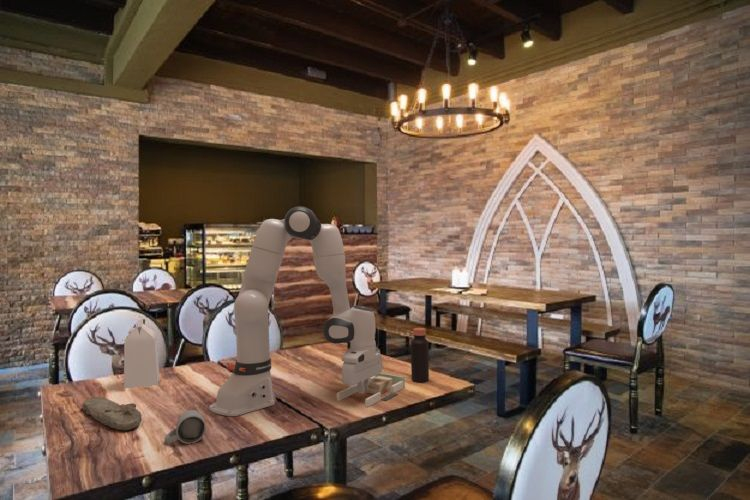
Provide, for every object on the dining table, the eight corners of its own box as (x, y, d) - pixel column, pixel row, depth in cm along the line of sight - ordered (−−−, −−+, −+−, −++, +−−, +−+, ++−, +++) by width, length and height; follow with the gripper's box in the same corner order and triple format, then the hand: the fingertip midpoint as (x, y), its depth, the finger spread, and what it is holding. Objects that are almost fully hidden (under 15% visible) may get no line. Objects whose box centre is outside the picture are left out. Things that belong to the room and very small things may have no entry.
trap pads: (385, 401, 163) (385, 400, 163) (346, 392, 172) (346, 391, 172) (403, 391, 173) (403, 390, 173) (365, 383, 182) (365, 383, 182)
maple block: (379, 395, 169) (379, 384, 169) (365, 393, 173) (365, 382, 173) (392, 389, 177) (392, 378, 177) (379, 386, 180) (379, 375, 180)
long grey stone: (106, 405, 168) (74, 415, 160) (104, 390, 168) (72, 400, 160) (151, 424, 145) (117, 436, 138) (149, 407, 145) (115, 418, 137)
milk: (157, 387, 183) (155, 319, 182) (124, 391, 178) (121, 322, 178) (159, 378, 194) (157, 315, 193) (127, 382, 190) (125, 317, 189)
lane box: (367, 407, 157) (367, 395, 157) (336, 400, 165) (336, 388, 165) (404, 387, 177) (404, 376, 177) (375, 382, 185) (375, 371, 184)
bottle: (430, 378, 188) (429, 327, 188) (427, 383, 182) (426, 331, 181) (413, 377, 190) (412, 327, 190) (409, 382, 184) (409, 330, 183)
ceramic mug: (203, 430, 141) (202, 404, 140) (206, 441, 133) (205, 413, 133) (164, 438, 136) (163, 411, 136) (165, 449, 129) (163, 421, 128)
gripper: (372, 345, 177) (372, 382, 178) (338, 357, 160) (339, 398, 161) (386, 347, 174) (386, 385, 174) (353, 359, 157) (354, 401, 157)
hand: (363, 391), depth 167 cm, fingers closed
